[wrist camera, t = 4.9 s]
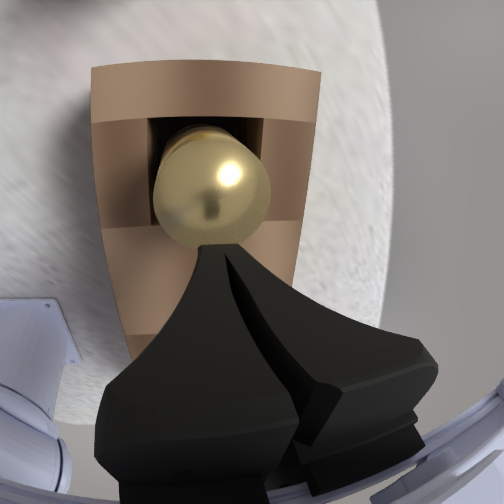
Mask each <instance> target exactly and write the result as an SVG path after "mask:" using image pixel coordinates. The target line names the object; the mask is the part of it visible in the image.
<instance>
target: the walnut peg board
mask: <svg viewBox="0 0 504 504" xmlns="http://www.w3.org/2000/svg"><path fill="white" fill-rule="evenodd" d="M320 81H321V72H318V71H312V70H306V69H300V68H294V67H287V66H280V65H272V64H263V63H252V62H240V61H223V60H161V61H144V62H132V63H122V64H113V65H105V66H98V67H92V68H91V137H92V155H93V168H94V179H95V188H96V197H97V205H98V212H99V219H100V226H101V232H102V238H103V244H104V250H105V255H106V260H107V265H108V270H109V275H110V279H111V284H112V288H113V293H114V297H115V301H116V305H117V309H118V313H119V317H120V320H121V324H122V328H123V331H124V335H125V338H126V341H127V345H128V348H129V351H130V354H131V358H132V361H134V360H135V359H136V358H137V357H138V356H139V355H140V353H141V352H142V351H143V350H144V349H145V348H146V347H147V346H148V345H149V343H150V342H151V341H152V340H153V339H154V338H155V336H156V335H157V334H158V333H159V331H160V330H161V329H162V327H163V326H164V324H165V323H166V322H167V320H168V319H169V317H170V316H171V314H172V313H173V311H174V310H175V308H176V306H177V305H178V303H179V301H180V299H181V298H182V296H183V294H184V292H185V289H186V287H187V285H188V283H189V281H190V279H191V276H192V273H193V270H194V268H195V265H196V261H197V257H198V250H196V249H191V248H189V247H186V246H184V245H182V244H180V243H178V242H177V241H175V240H174V239H172V238H171V237H170V236H169V235H168V234H167V233H166V232H165V231H164V229H163V228H162V226H161V225H160V223H159V221H158V219H157V217H156V214H155V210H154V204H153V192H154V186H155V182H156V177H157V173H158V167H157V117H177V116H231V117H238V122H237V138H236V139H237V140H238V141H239V142H240V143H241V144H243V145H244V146H245V147H246V148H247V149H249V150H250V151H251V152H252V153H253V154H254V155H255V156H256V157H257V158H258V159H259V160H260V161H261V163H262V164H263V166H264V168H265V169H266V172H267V174H268V176H269V180H270V186H271V200H270V205H269V208H268V212H267V214H266V216H265V218H264V220H263V222H262V223H261V225H260V226H259V227H258V228H257V230H256V231H255V232H254V233H253V234H252V235H251V236H249V237H248V238H247V239H245V240H244V241H242V242H241V243H239V245H240V246H241V247H242V248H244V249H245V250H246V251H247V252H248V253H249V254H250V255H251V256H253V257H254V258H255V259H256V260H257V261H258V262H259V263H261V264H262V265H263V266H264V267H265V268H267V269H268V270H269V271H270V272H272V273H273V274H274V275H275V276H277V277H278V278H279V279H281V280H282V281H284V282H285V283H286V284H288V285H289V286H291V287H292V282H293V276H294V271H295V265H296V259H297V253H298V247H299V241H300V235H301V229H302V222H303V216H304V209H305V202H306V196H307V189H308V182H309V174H310V167H311V159H312V152H313V144H314V136H315V127H316V119H317V110H318V100H319V91H320Z"/></svg>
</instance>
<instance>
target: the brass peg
mask: <svg viewBox="0 0 504 504" xmlns="http://www.w3.org/2000/svg"><path fill="white" fill-rule="evenodd" d="M270 200H271V186H270V180H269V176H268V174H267V172H266V169H265V168H264V166H263V164H262V163H261V161H260V160H259V159H258V158H257V157H256V156H255V155H254V154H253V153H252V152H251V151H250V150H249V149H247V148H246V147H245V146H244V145H243V144H241V143H240V142H239V141H238V140H237V139H235V138H234V137H233V136H232V135H231V134H229V133H228V132H227V131H226V130H224V129H223V128H221V127H219V126H216V125H213V124H208V123H196V124H192V125H189V126H186V127H184V128H182V129H180V130H179V131H177V132H176V133H175V134H174V135H173V136H172V137H171V138H170V139H169V141H168V142H167V144H166V146H165V148H164V151H163V154H162V158H161V162H160V165H159V169H158V173H157V177H156V182H155V186H154V192H153V204H154V210H155V214H156V217H157V219H158V221H159V223H160V225H161V226H162V228H163V229H164V231H165V232H166V233H167V234H168V235H169V236H170V237H171V238H172V239H174V240H175V241H177V242H178V243H180V244H182V245H184V246H186V247H189V248H191V249H196V250H198V247H199V246H200V245H210V244H235V243H238V244H239V243H241V242H242V241H244V240H245V239H247V238H248V237H249V236H251V235H252V234H253V233H254V232H255V231H256V230H257V228H258V227H259V226H260V225H261V223H262V222H263V220H264V218H265V216H266V214H267V212H268V208H269V205H270Z"/></svg>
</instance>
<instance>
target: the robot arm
mask: <svg viewBox="0 0 504 504" xmlns="http://www.w3.org/2000/svg"><path fill="white" fill-rule="evenodd" d="M47 304H49V305H47ZM81 362H82V359H81V356H80V354H79V352H78V350H77V348H76V345H75V343H74V341H73V339H72V336H71V334H70V332H69V329H68V327H67V324H66V322H65V319H64V317H63V314H62V311H61V309H60V306H59V303H58V302H57V301H56V300H55V299H0V504H326V503H329V502H332V501H335V500H337V499H340V498H343V497H346V496H348V495H351V494H353V493H356V492H359V491H361V490H364V489H366V488H368V487H371V486H373V485H375V484H377V483H379V482H382V481H384V480H386V479H388V478H390V477H392V476H394V475H396V474H398V473H400V472H402V471H404V470H406V469H408V468H410V467H412V466H414V465H415V464H417V463H418V464H417V465H416V468H415V469H414V470H411V471H410V472H408V473H406V474H405V475H403V476H401V477H400V478H399V479H398V480H397V481H395V482H394V483H392V484H391V485H389V486H388V487H386V488H385V489H383V490H381V491H379V492H377V493H376V494H374V495H373V496H371V497H370V501H371V503H372V504H504V378H503V379H502V380H501V382H500V383H499V384H498V385H497V386H496V389H495V390H493V391H492V392H491V393H489V394H488V395H487V396H485V397H484V398H482V399H481V400H479V401H478V402H477V403H475V404H474V405H473V406H471V407H469V408H468V409H466V410H465V411H463V412H462V413H460V414H459V415H457V416H455V417H454V418H452V419H451V420H449V421H447V422H446V423H444V424H442V425H441V426H439V427H437V428H435V429H434V430H432V431H430V432H428V433H426V434H425V435H423V436H420V435H419V433H418V431H417V430H416V428H415V426H414V424H415V423H416V422H417V421H418V417H417V415H416V414H415V412H414V411H413V409H414V407H415V406H416V405H417V404H418V403H419V401H420V400H421V399H422V397H423V396H424V395H425V394H426V393H427V392H428V390H429V389H430V387H431V386H432V385H433V383H434V381H435V379H436V377H437V374H438V364H437V363H436V362H435V360H434V359H433V357H432V356H431V355H430V353H429V352H428V351H427V349H426V348H425V347H424V346H423V344H422V343H421V342H420V341H419V339H415V338H411V337H407V336H403V335H399V334H395V333H391V332H387V331H384V330H380V329H378V328H375V327H372V326H369V325H366V324H363V323H360V322H358V321H355V320H353V319H350V318H348V317H346V316H343V315H341V314H339V313H337V312H335V311H333V310H330V309H328V308H326V307H324V306H322V305H320V304H319V303H317V302H315V301H313V300H312V299H310V298H308V297H306V296H305V295H303V294H301V293H300V292H298V291H297V290H295V289H294V288H292V287H291V286H289V285H288V284H286V283H285V282H284V281H282V280H281V279H279V278H278V277H277V276H275V275H274V274H273V273H272V272H270V271H269V270H268V269H267V268H265V267H264V266H263V265H262V264H261V263H259V262H258V261H257V260H256V259H255V258H254V257H253V256H251V255H250V254H249V253H248V252H247V251H246V250H245V249H244V248H242V247H241V246H240V245H239V244H238V243H235V244H210V245H200V246H199V247H198V257H197V261H196V265H195V268H194V270H193V273H192V276H191V279H190V281H189V283H188V285H187V287H186V289H185V292H184V294H183V296H182V298H181V299H180V301H179V303H178V305H177V306H176V308H175V310H174V311H173V313H172V314H171V316H170V317H169V319H168V320H167V322H166V323H165V324H164V326H163V327H162V329H161V330H160V331H159V333H158V334H157V335H156V336H155V338H154V339H153V340H152V341H151V342H150V343H149V345H148V346H147V347H146V348H145V349H144V350H143V351H142V352H141V353H140V355H139V356H138V357H137V358H136V359H135V360H134V361H133V362H132V363H131V364H130V365H129V366H128V367H127V368H125V369H124V370H123V371H122V372H121V373H120V374H119V375H118V376H117V377H116V378H114V379H113V380H112V381H111V382H110V383H109V384H108V385H106V387H105V390H104V393H103V396H102V399H101V402H100V406H99V410H98V414H97V419H96V424H95V442H94V457H95V458H96V460H97V461H98V463H99V464H100V465H101V466H102V467H103V468H104V469H105V470H107V472H109V473H110V475H112V476H113V477H114V478H115V479H116V480H117V481H118V482H119V497H120V501H113V500H102V499H93V498H87V497H79V496H74V495H68V494H67V492H68V489H69V486H70V482H71V476H72V462H71V456H70V453H69V451H68V448H67V445H66V443H65V442H64V440H63V439H61V438H59V437H58V433H59V426H58V425H57V424H55V423H53V416H54V410H55V404H56V399H57V394H58V389H59V384H60V379H61V374H62V370H63V366H64V364H81Z"/></svg>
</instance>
